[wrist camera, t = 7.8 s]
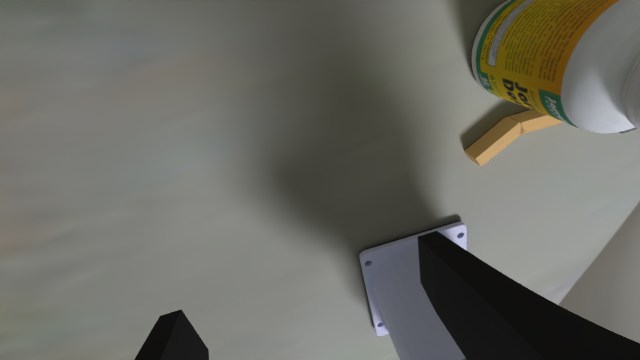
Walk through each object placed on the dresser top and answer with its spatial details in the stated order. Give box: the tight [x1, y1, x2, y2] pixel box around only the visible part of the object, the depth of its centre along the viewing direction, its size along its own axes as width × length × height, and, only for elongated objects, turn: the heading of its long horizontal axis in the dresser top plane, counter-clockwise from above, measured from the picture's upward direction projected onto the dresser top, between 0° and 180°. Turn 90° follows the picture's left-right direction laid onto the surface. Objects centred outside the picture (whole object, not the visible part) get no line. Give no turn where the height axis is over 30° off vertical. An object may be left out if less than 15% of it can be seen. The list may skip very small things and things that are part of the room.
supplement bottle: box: [472, 0, 640, 133], centre depth 14 cm, size 5×5×10 cm
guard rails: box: [465, 110, 563, 166], centre depth 18 cm, size 12×8×1 cm, turn 12°
